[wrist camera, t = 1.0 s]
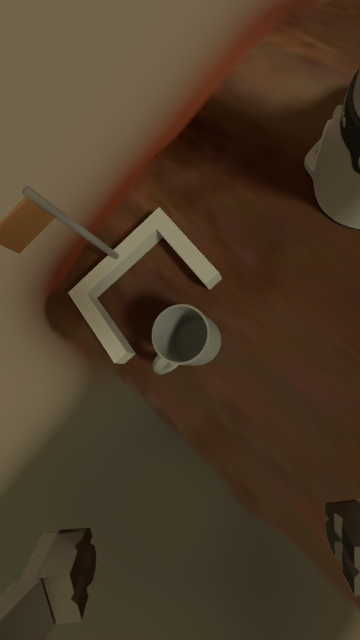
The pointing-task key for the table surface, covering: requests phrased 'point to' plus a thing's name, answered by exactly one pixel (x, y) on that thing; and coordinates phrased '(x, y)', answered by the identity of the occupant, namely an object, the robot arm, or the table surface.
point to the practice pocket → (158, 225)
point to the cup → (183, 338)
